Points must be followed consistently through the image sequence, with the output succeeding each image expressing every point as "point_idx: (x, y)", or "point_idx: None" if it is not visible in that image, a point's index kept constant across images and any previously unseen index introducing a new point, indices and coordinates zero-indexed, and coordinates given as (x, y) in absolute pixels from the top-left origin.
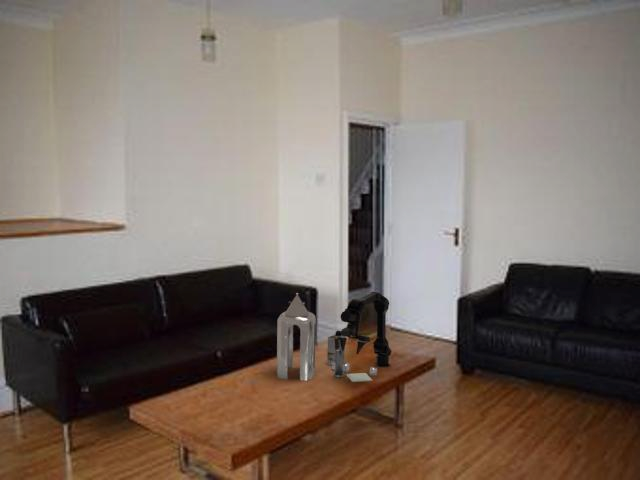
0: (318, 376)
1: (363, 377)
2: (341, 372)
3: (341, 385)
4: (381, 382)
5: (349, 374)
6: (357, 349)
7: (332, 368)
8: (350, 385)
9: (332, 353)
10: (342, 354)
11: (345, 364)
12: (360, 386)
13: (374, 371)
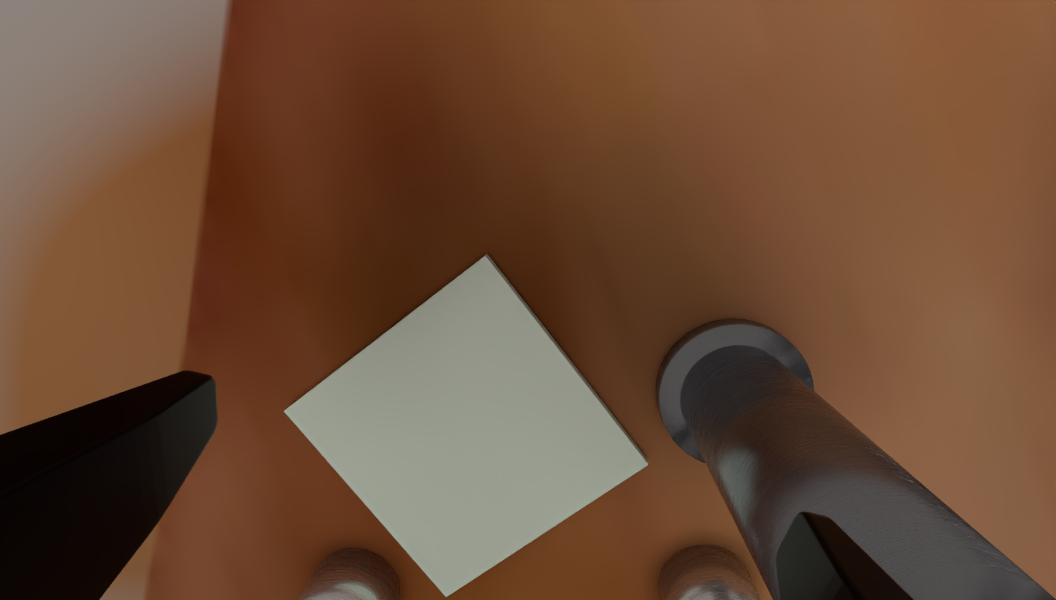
0: (992, 260)
1: (408, 441)
2: (697, 388)
3: (572, 73)
4: None
5: (609, 469)
6: (31, 453)
7: None
8: (463, 132)
9: None
10: None
11: None
12: (335, 158)
13: (304, 597)
